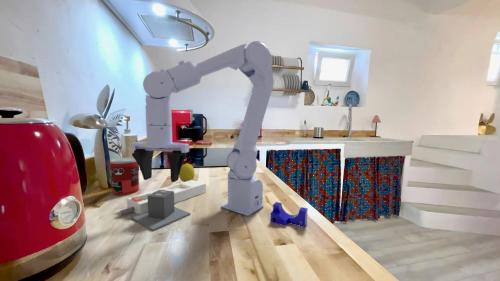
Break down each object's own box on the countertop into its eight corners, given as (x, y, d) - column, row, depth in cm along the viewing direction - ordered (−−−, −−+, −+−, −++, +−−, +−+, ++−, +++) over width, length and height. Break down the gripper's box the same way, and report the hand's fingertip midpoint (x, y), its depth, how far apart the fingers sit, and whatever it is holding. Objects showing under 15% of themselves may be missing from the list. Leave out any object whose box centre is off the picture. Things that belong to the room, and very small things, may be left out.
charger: (174, 211, 56) (173, 190, 55) (164, 219, 52) (163, 196, 51) (159, 210, 57) (158, 189, 56) (148, 217, 52) (147, 195, 52)
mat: (190, 214, 55) (190, 213, 55) (153, 231, 47) (153, 229, 47) (167, 205, 61) (167, 203, 61) (131, 218, 53) (131, 216, 53)
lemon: (192, 186, 78) (191, 164, 77) (177, 186, 78) (176, 164, 77) (196, 181, 83) (196, 161, 83) (182, 181, 84) (181, 161, 83)
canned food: (109, 191, 71) (107, 159, 70) (135, 186, 77) (133, 156, 76) (114, 197, 66) (112, 162, 65) (142, 191, 72) (141, 159, 70)
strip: (192, 188, 76) (192, 178, 76) (205, 192, 72) (205, 182, 71) (115, 212, 56) (114, 199, 55) (128, 220, 52) (127, 206, 51)
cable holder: (270, 222, 52) (270, 206, 51) (275, 216, 55) (276, 201, 55) (303, 231, 48) (304, 214, 48) (306, 224, 51) (307, 208, 51)
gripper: (194, 125, 54) (195, 177, 56) (144, 124, 57) (146, 173, 59) (179, 126, 47) (181, 185, 49) (123, 125, 50) (126, 181, 52)
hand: (161, 179), depth 53 cm, fingers open, 7 cm apart
